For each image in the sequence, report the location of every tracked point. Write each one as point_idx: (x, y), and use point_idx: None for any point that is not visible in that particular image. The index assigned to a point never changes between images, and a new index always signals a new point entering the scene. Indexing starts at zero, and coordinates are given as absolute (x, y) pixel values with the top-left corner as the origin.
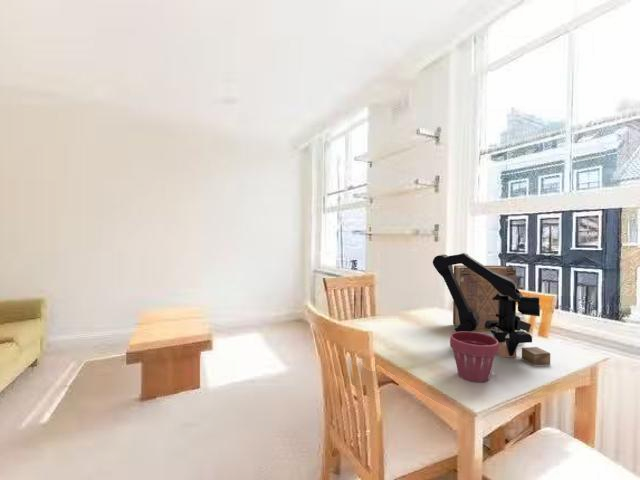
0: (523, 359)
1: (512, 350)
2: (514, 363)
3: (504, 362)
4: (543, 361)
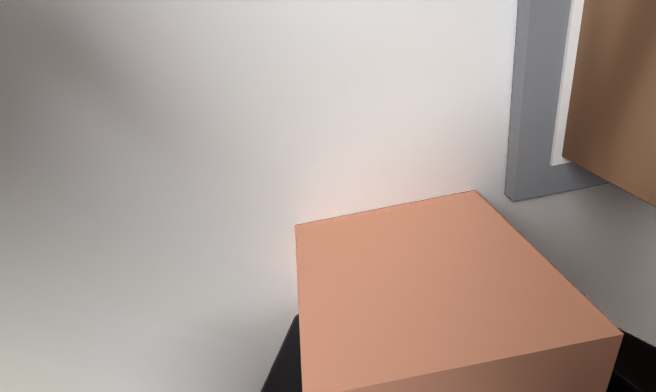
0: None
1: None
2: (611, 281)
3: None
4: None
